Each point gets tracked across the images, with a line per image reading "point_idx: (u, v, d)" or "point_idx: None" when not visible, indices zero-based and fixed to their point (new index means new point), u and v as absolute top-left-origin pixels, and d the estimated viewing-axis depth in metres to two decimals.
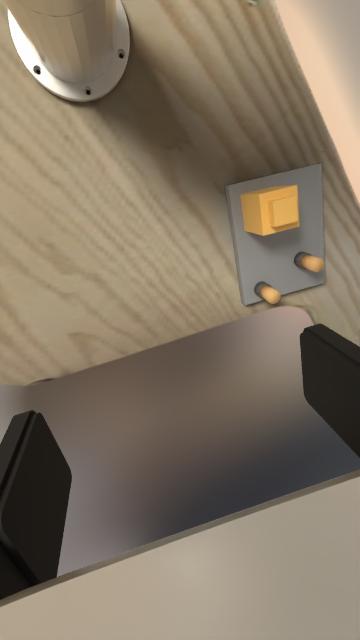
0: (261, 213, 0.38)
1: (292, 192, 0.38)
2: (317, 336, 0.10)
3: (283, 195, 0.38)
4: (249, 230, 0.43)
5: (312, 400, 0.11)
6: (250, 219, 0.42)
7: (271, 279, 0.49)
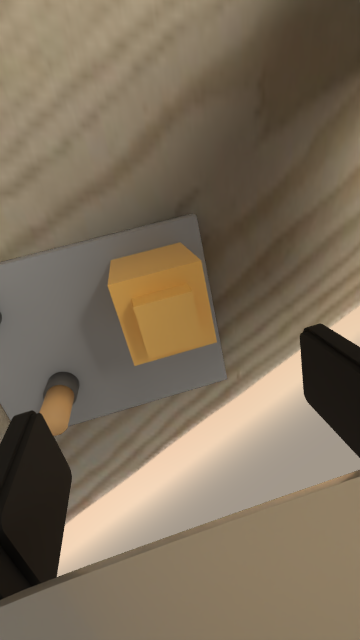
0: (159, 272, 0.16)
1: (203, 335, 0.18)
2: (317, 336, 0.10)
3: (197, 317, 0.17)
4: (113, 265, 0.20)
5: (312, 400, 0.11)
6: (138, 261, 0.19)
7: (10, 335, 0.22)
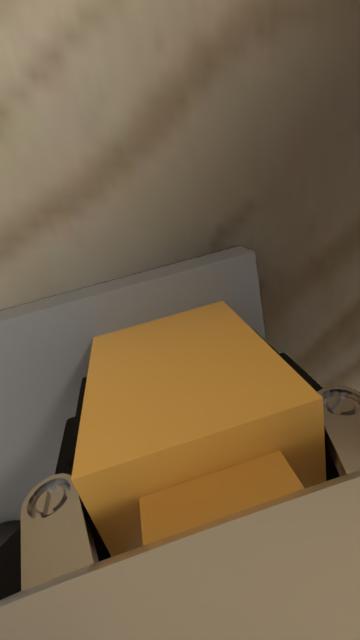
0: (213, 434, 0.06)
1: None
2: None
3: None
4: (96, 359, 0.10)
5: None
6: (147, 358, 0.09)
7: None
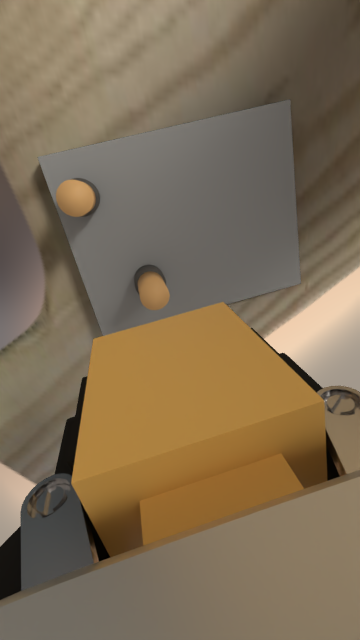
0: (214, 437, 0.06)
1: None
2: None
3: None
4: (97, 361, 0.10)
5: None
6: (148, 359, 0.09)
7: (105, 220, 0.23)
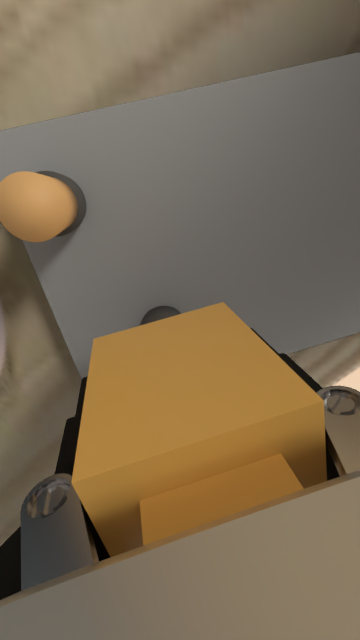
0: (214, 437, 0.06)
1: None
2: None
3: None
4: (97, 361, 0.10)
5: None
6: (148, 359, 0.09)
7: (95, 240, 0.14)
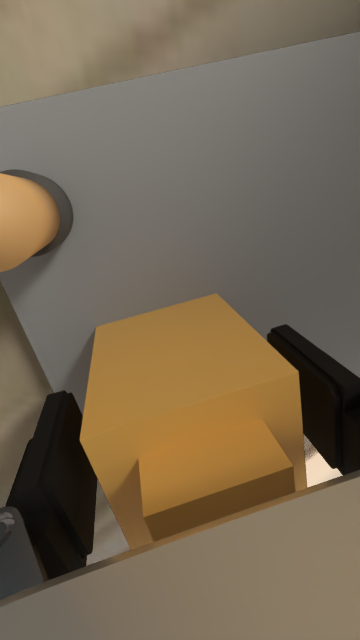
0: (203, 402, 0.07)
1: None
2: (281, 336, 0.11)
3: None
4: (99, 345, 0.10)
5: None
6: (146, 343, 0.10)
7: (86, 258, 0.11)
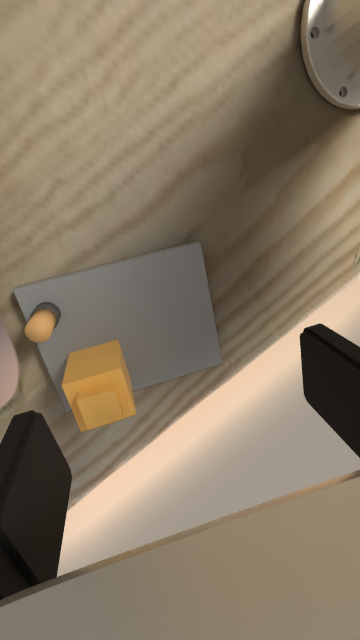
0: (94, 376, 0.26)
1: (126, 411, 0.28)
2: (317, 336, 0.10)
3: (121, 400, 0.27)
4: (69, 360, 0.29)
5: (312, 400, 0.11)
6: (85, 359, 0.29)
7: (65, 328, 0.30)
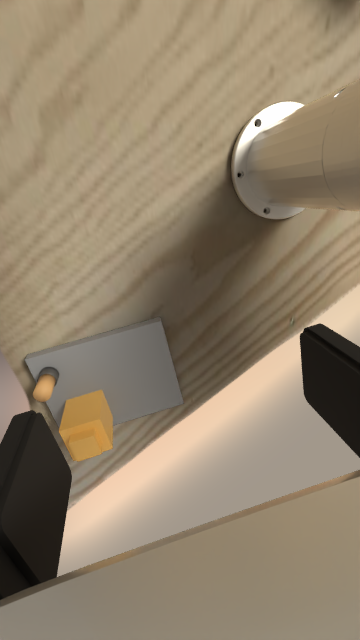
0: (81, 424, 0.37)
1: (105, 446, 0.39)
2: (317, 336, 0.10)
3: (101, 439, 0.38)
4: (66, 407, 0.41)
5: (312, 400, 0.11)
6: (77, 408, 0.40)
7: (62, 383, 0.41)
